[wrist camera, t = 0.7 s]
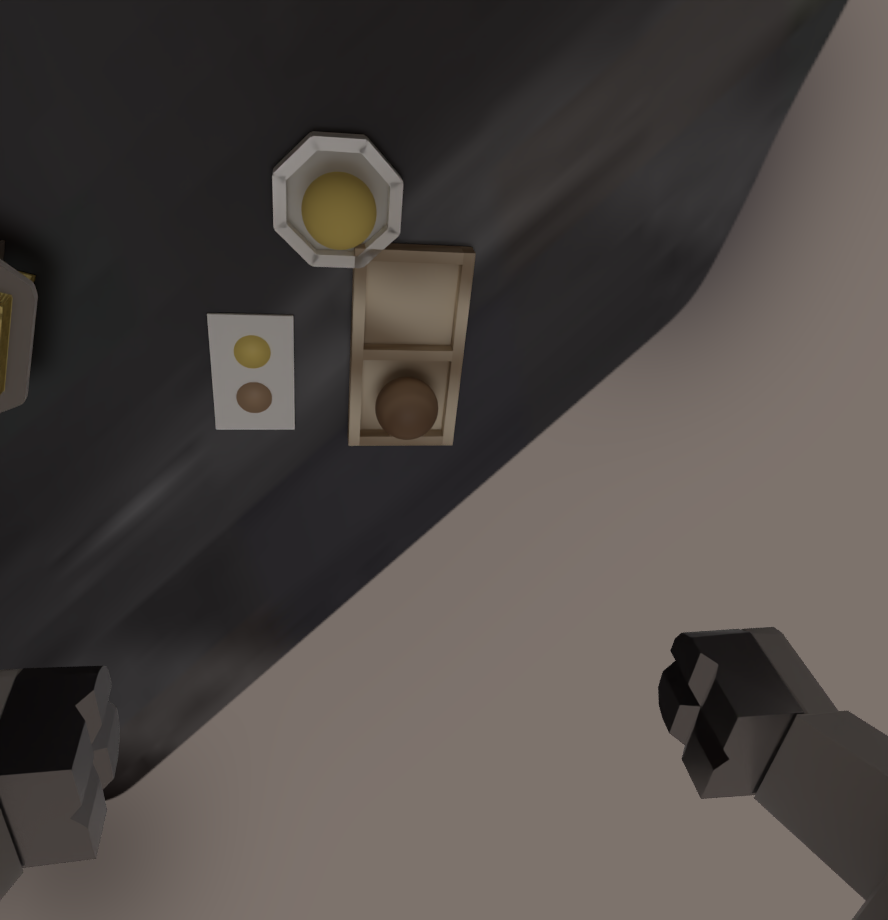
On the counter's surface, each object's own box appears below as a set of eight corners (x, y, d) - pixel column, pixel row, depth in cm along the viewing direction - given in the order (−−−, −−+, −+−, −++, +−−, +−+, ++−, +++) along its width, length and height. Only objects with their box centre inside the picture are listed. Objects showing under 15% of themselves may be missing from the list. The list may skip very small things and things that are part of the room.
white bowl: (271, 128, 40) (270, 132, 39) (403, 137, 42) (406, 142, 41) (275, 257, 44) (274, 265, 43) (395, 262, 46) (397, 269, 45)
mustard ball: (300, 161, 41) (301, 180, 38) (375, 165, 42) (381, 184, 39) (301, 234, 43) (301, 258, 40) (371, 237, 44) (378, 262, 41)
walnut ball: (374, 365, 49) (379, 395, 45) (435, 366, 49) (445, 396, 46) (371, 419, 51) (376, 452, 48) (430, 419, 52) (439, 451, 48)
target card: (207, 312, 45) (206, 314, 45) (293, 314, 46) (293, 317, 46) (216, 427, 50) (216, 430, 50) (294, 427, 51) (294, 430, 50)
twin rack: (353, 241, 44) (355, 248, 43) (471, 246, 46) (475, 253, 45) (347, 436, 52) (348, 445, 51) (449, 435, 53) (452, 445, 52)
